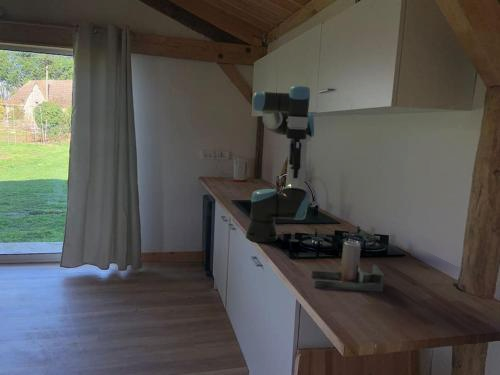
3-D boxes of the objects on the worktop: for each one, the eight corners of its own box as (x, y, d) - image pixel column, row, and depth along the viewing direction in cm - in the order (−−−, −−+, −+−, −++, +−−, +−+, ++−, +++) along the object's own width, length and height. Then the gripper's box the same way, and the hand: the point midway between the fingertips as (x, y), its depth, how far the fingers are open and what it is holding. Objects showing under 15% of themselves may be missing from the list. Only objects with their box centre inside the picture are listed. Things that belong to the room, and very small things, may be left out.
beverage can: (344, 279, 146) (348, 239, 144) (359, 283, 142) (363, 243, 140) (336, 283, 142) (340, 242, 139) (352, 288, 138) (356, 247, 135)
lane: (310, 276, 147) (312, 260, 146) (374, 280, 147) (376, 264, 145) (314, 287, 137) (316, 270, 136) (382, 291, 137) (384, 275, 136)
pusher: (354, 280, 145) (355, 267, 144) (363, 280, 145) (365, 267, 144) (359, 288, 138) (360, 274, 138) (368, 288, 138) (370, 274, 137)
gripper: (284, 127, 164) (281, 178, 168) (289, 128, 140) (285, 188, 143) (303, 128, 164) (299, 179, 168) (311, 130, 139) (306, 190, 143)
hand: (292, 183), depth 155 cm, fingers open, 13 cm apart
